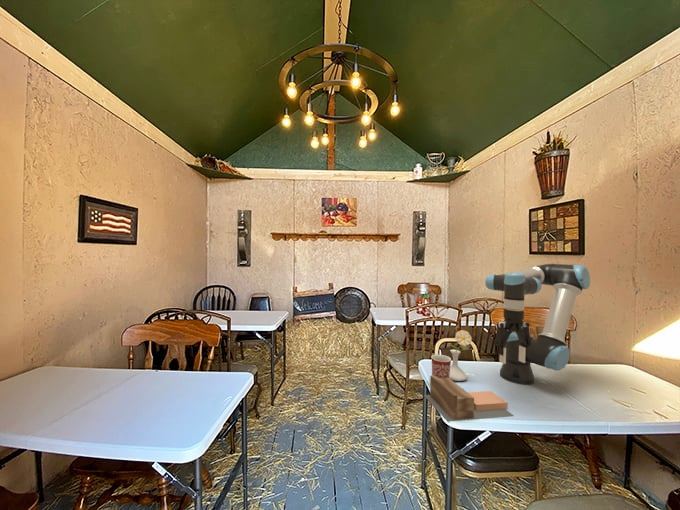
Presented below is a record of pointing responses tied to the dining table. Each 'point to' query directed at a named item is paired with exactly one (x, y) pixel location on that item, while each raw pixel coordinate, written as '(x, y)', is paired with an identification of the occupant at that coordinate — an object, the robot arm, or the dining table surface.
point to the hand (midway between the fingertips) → (512, 362)
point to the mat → (476, 413)
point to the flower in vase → (463, 340)
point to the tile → (487, 401)
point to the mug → (441, 366)
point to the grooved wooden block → (451, 398)
